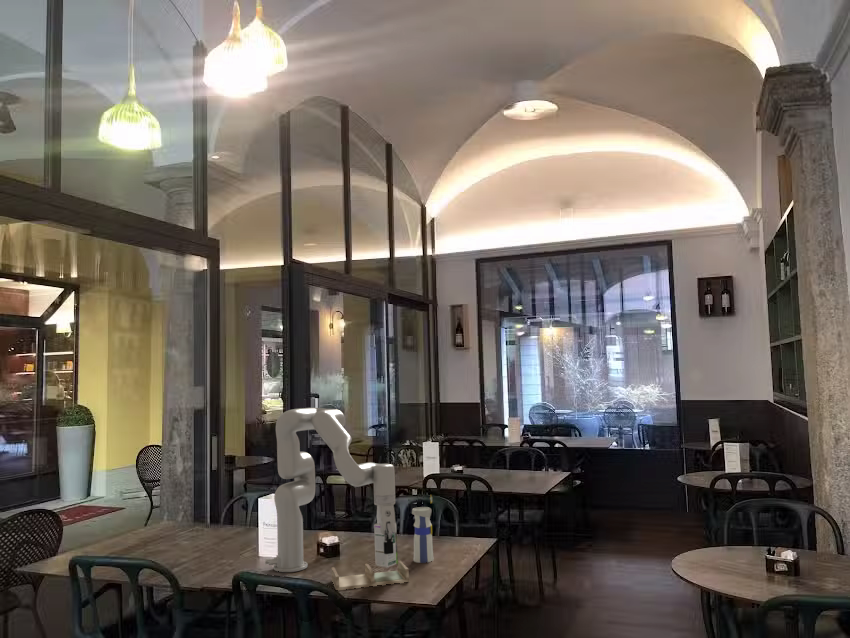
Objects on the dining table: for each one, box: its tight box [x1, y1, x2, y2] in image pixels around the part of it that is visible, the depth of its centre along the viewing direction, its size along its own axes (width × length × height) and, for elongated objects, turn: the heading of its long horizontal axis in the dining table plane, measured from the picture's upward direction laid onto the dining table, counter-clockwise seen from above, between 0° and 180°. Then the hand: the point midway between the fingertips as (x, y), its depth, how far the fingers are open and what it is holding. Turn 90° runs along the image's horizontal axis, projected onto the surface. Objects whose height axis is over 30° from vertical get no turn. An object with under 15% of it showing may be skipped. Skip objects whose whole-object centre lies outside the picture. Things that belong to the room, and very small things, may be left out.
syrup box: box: [373, 521, 398, 569], centre depth 236 cm, size 6×6×14 cm
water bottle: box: [411, 495, 434, 564], centre depth 261 cm, size 8×8×25 cm
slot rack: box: [330, 559, 410, 591], centre depth 234 cm, size 25×12×4 cm, turn 106°
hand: (386, 550), depth 236 cm, fingers closed on syrup box, 7 cm apart
